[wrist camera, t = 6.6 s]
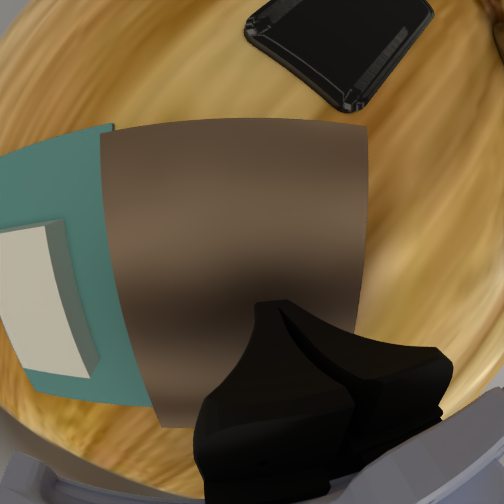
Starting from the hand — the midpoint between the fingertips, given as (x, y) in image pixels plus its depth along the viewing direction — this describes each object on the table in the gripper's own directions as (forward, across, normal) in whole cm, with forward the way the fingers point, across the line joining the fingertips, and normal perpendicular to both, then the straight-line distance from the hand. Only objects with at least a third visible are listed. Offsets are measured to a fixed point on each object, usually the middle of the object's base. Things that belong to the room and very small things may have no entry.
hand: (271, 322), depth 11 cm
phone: (+4, -7, -17) cm, 19 cm away
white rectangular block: (+3, +13, 0) cm, 14 cm away
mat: (+4, +13, 0) cm, 14 cm away
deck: (+4, +1, 0) cm, 4 cm away
